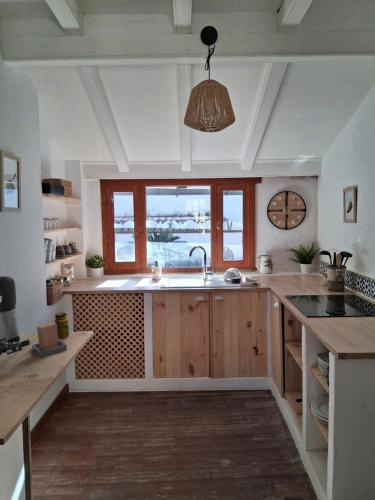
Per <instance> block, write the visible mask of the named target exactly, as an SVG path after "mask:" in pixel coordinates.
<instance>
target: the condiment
mask: <svg viewBox="0 0 375 500" xmlns="http://www.w3.org/2000/svg"><path fill="white" fill-rule="evenodd" d="M54 317H55V318H54V319H55V320H54V323H56V324H57V333H58V338H59V339H63V340H65V339H64V338H66V339H68V338H67V337H69V335H70V329H69V320H68V319H69V318H68V316H67V313H66V312H58V313H56V314H55V315H54ZM70 336H71V337H70V338H72V337H73V335H70Z"/></svg>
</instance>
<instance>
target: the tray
mask: <svg viewBox="0 0 375 500" xmlns="http://www.w3.org/2000/svg"><path fill="white" fill-rule="evenodd" d="M58 342H59V346H58V347H54V348H51V349H47V350H43V351H41V350H40V349H39V342H37V343H35V344H34V343H33V344H31V348H32V351H33V352H34V354H36V355H37V356H38V358H41V357H42V358H43V357H45V356H49V355H52V354H56V353H61V352H63V351H68V346H67V344H66V343H65V342H64V341H63V340H60V339H59V338H58Z"/></svg>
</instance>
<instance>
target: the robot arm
mask: <svg viewBox="0 0 375 500" xmlns="http://www.w3.org/2000/svg"><path fill="white" fill-rule="evenodd" d="M16 291H17V289H16V282H15V280H14V278H13V277H12V276H8V275H6V276H1V275H0V297H1V301H0V356H1V355H2V354H3V353H5V354H6V355H11V354H14V353H17V352H20V351H22V350H23V348H24V347H27V346H29V345H30V344H31V343H30V342H31V341H30V340H29V339H24V340H23V341H21V337H20V330H19V324H18V322H19V321H18V315H17V308H16V304H17V292H16Z"/></svg>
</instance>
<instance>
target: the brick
mask: <svg viewBox="0 0 375 500" xmlns="http://www.w3.org/2000/svg"><path fill="white" fill-rule="evenodd" d="M36 330H37V338H38V343H39V349H40V350H41V351H43V350H47V349H51V348H54V347H58V346H59V342H58V333H57V324H56V323H55V322H52V321H50V322H48V323H43V324H41V325H40V324H39V325H38V326H36Z"/></svg>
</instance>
